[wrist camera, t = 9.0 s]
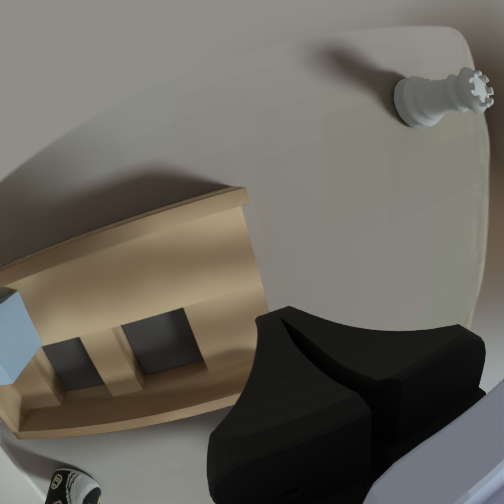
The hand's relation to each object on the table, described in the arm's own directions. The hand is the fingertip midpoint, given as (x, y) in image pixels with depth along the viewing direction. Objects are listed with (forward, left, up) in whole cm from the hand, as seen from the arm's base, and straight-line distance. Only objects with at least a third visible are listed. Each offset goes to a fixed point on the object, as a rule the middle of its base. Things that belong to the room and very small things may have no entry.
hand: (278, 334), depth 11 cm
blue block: (+1, +17, -8) cm, 19 cm away
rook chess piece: (+8, -17, -10) cm, 22 cm away
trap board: (-1, +10, -10) cm, 14 cm away
